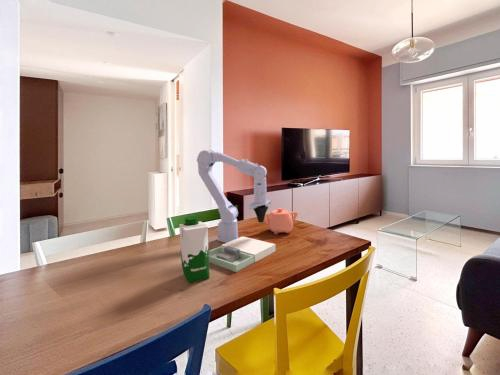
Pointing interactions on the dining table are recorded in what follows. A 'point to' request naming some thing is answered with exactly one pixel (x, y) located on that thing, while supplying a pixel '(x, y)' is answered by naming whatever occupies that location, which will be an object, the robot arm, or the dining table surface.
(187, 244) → the milk carton
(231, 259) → the tile
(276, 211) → the teapot
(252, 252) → the board
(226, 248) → the tile
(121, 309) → the dining table surface
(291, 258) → the dining table surface
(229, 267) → the box
